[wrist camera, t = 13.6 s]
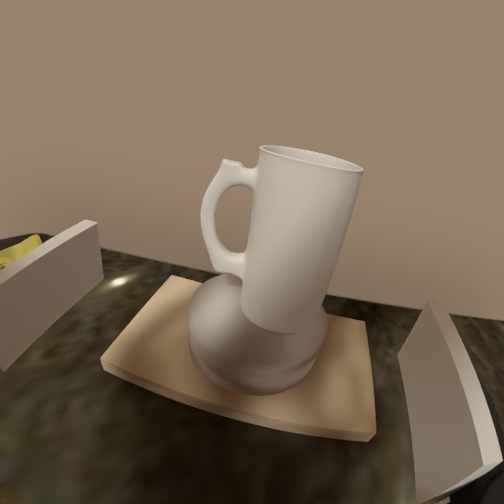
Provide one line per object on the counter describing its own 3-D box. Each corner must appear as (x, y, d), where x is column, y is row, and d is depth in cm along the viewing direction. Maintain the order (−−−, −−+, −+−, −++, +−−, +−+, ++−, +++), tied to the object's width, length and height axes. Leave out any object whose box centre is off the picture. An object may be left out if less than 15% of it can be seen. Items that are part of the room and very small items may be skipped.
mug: (313, 289, 26) (347, 159, 20) (325, 340, 20) (380, 178, 14) (203, 274, 26) (216, 136, 20) (186, 323, 20) (196, 145, 14)
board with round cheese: (360, 331, 30) (378, 291, 27) (367, 441, 17) (402, 404, 15) (171, 285, 32) (172, 243, 30) (103, 369, 20) (89, 321, 18)
